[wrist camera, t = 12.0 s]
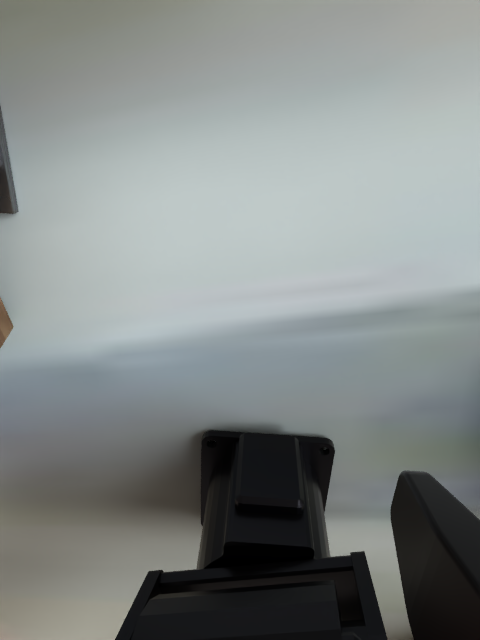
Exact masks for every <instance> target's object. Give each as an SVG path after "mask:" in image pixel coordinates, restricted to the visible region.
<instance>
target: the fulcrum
mask: <svg viewBox="0 0 480 640" xmlns="http://www.w3.org/2000/svg"><path fill="white" fill-rule="evenodd" d="M16 212H18V207H17V201H16V195H15V189H14V183H13V177H12V171H11V166H10V160H9V154H8V148H7V142H6V136H5V130H4V125H3V119H2V113H1V107H0V213H9V214H14V213H16Z"/></svg>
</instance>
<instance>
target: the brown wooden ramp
mask: <svg viewBox="0 0 480 640" xmlns="http://www.w3.org/2000/svg"><path fill="white" fill-rule="evenodd" d="M12 329H13V324H12V322H11V320H10V318H9V316H8V313H7V311H6V309H5V307H4V305H3V302H2V300H1V298H0V348H1V347H2V345H3V343H4V342H5V340H6V338H7V337H8V335H9V334H10V332H11V330H12Z"/></svg>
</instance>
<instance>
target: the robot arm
mask: <svg viewBox="0 0 480 640" xmlns="http://www.w3.org/2000/svg"><path fill="white" fill-rule="evenodd" d="M209 440H214V441H216V442H213V443H212V442H210V441H209ZM324 447H326V448H327V449H326V450H321V448H324ZM334 453H335V450H334V445H333V442H332V441H331V440H330V439H327V438H319V437H304V436H289V435H274V434H259V433H244V432H229V431H214V430H212V431H207V432H205V433H204V435H203V438H202V449H201V524H202V526H203V529H202V535H201V542H200V549H199V556H198V562H197V569H195V570H184V571H173V572H163V570H157V571H149V572H148V574H147V576H146V578H145V580H144V582H143V584H142V586H141V588H140V590H139V592H138V594H137V596H136V598H135V600H134V602H133V604H132V606H131V608H130V610H129V612H128V614H127V616H126V618H125V620H124V622H123V625H122V627H121V629H120V631H119V633H118V635H117V637H116V639H115V640H387V636H386V632H385V629H384V625H383V621H382V617H381V613H380V610H379V606H378V602H377V598H376V594H375V590H374V587H373V583H372V579H371V575H370V571H369V568H368V564H367V560H366V556H365V552H364V551H362V552H352V553H350V554H351V555H348V556H337V557H330V551H329V544H328V537H327V530H326V523H325V516H324V511H325V506H326V500H327V494H328V488H329V482H330V477H331V471H332V465H333V459H334ZM391 523H392V529H393V535H394V541H395V546H396V552H397V558H398V564H399V569H400V575H401V581H402V587H403V592H404V598H405V604H406V609H407V614H408V619H409V623H410V627H411V631H412V635H413V638H414V640H480V520H479V519H478V518H477V517H476V516H475V515H474V514H473V513H472V512H470V511H469V510H468V509H467V508H466V507H465V506H464V505H463V504H462V503H461V502H460V501H458V500H457V499H456V498H455V497H454V496H453V495H452V494H451V493H450V492H449V491H448V490H447V489H445V488H444V487H443V486H442V485H441V484H440V483H439V482H438V481H437V480H436V479H435V478H433V477H432V476H431V475H430V474H428V473H426V472H420V471H403V472H401V474H400V475H399V478H398V482H397V486H396V489H395V493H394V497H393V501H392V505H391Z"/></svg>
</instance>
